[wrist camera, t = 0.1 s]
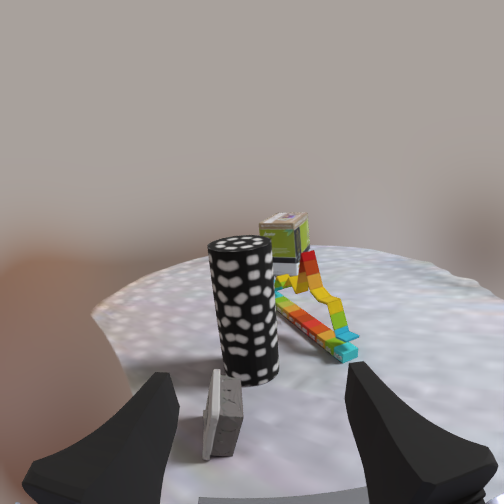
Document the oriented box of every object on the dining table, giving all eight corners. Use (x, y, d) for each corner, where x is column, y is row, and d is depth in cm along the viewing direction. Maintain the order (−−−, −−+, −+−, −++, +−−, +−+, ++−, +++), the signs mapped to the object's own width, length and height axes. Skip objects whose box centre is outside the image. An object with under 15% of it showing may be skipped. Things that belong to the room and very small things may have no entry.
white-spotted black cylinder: (236, 392, 43) (218, 255, 37) (217, 363, 50) (200, 242, 45) (289, 374, 46) (282, 243, 40) (264, 349, 53) (255, 232, 48)
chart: (261, 299, 74) (256, 235, 70) (273, 296, 75) (269, 232, 71) (341, 365, 47) (345, 274, 43) (357, 358, 48) (362, 269, 44)
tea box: (280, 258, 102) (277, 211, 98) (311, 260, 98) (309, 211, 94) (262, 275, 89) (257, 221, 85) (297, 277, 85) (294, 221, 81)
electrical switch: (205, 415, 38) (200, 366, 36) (240, 415, 38) (240, 366, 36) (202, 463, 30) (195, 414, 28) (243, 463, 30) (243, 414, 28)
